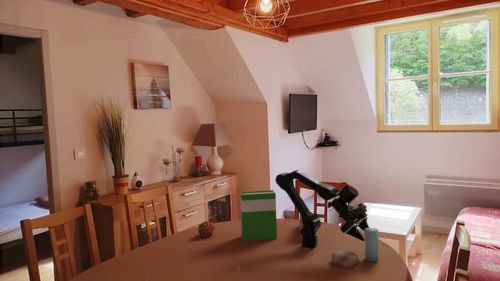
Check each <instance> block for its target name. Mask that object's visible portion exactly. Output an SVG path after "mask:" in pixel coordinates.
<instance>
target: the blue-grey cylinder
mask: <svg viewBox="0 0 500 281" xmlns="http://www.w3.org/2000/svg"><path fill="white" fill-rule="evenodd" d="M364 239H365V240H364V256H365V258H364V259H365V260H366V261H368V262H378V261H379V229H378V228H375V227H369V228H366V229H365V231H364Z"/></svg>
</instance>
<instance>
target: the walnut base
mask: <svg viewBox="0 0 500 281" xmlns="http://www.w3.org/2000/svg"><path fill="white" fill-rule="evenodd" d="M331 264H332V265H334V266H336V267H338V268H344V269H345V268H347V269H348V268H356V266H358V265H359V256H358V254H357V253H355V252H354V251H349V250H337V251H333V252H332V253H331Z"/></svg>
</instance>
